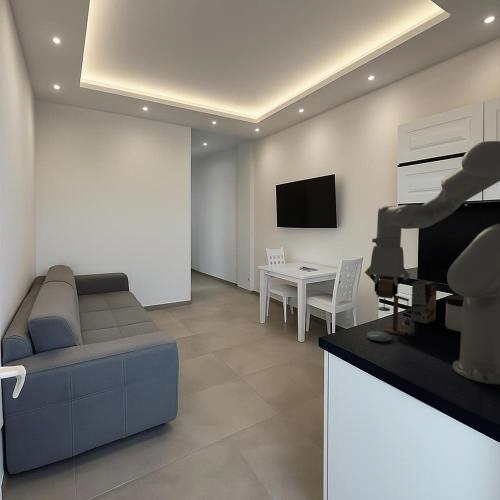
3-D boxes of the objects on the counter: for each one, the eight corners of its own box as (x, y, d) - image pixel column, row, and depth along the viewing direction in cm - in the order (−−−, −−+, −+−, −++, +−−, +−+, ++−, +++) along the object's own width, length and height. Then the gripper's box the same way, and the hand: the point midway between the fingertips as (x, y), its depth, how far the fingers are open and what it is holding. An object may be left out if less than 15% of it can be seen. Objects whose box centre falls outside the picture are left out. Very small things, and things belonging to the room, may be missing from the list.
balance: (412, 337, 111) (413, 296, 110) (376, 331, 118) (377, 292, 116) (413, 333, 115) (414, 293, 114) (379, 328, 121) (379, 290, 120)
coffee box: (426, 324, 125) (428, 284, 124) (410, 320, 130) (411, 282, 129) (435, 319, 131) (437, 281, 130) (419, 316, 136) (421, 279, 135)
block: (391, 298, 105) (392, 282, 105) (377, 296, 108) (378, 281, 107) (393, 295, 109) (394, 280, 108) (380, 294, 111) (381, 278, 111)
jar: (473, 333, 114) (475, 301, 113) (447, 330, 118) (449, 299, 117) (467, 326, 123) (469, 295, 122) (443, 323, 126) (445, 294, 125)
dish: (389, 344, 105) (389, 340, 104) (364, 340, 109) (364, 336, 109) (392, 337, 111) (392, 333, 111) (369, 333, 116) (369, 329, 115)
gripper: (360, 242, 108) (358, 293, 110) (415, 244, 99) (411, 301, 101) (365, 240, 114) (363, 289, 116) (417, 243, 105) (414, 296, 107)
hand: (385, 294), depth 108 cm, fingers closed on block, 4 cm apart
